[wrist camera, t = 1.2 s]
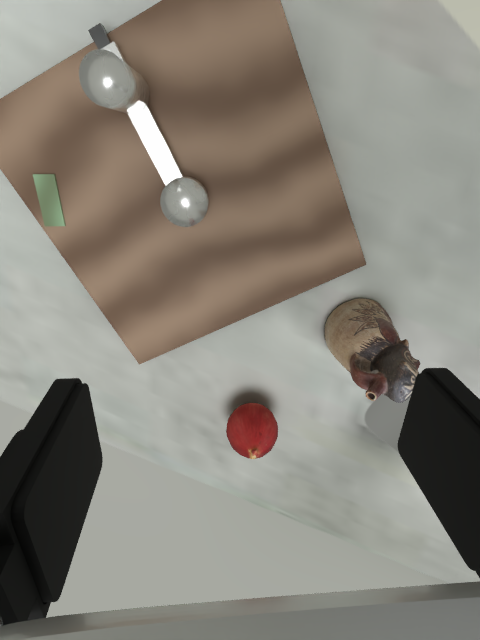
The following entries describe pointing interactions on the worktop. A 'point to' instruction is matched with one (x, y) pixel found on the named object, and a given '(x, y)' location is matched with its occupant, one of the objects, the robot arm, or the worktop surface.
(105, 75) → the dial lever
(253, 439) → the onion
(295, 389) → the worktop surface
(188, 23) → the wooden cutting board
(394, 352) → the tan brown ceramic jug
